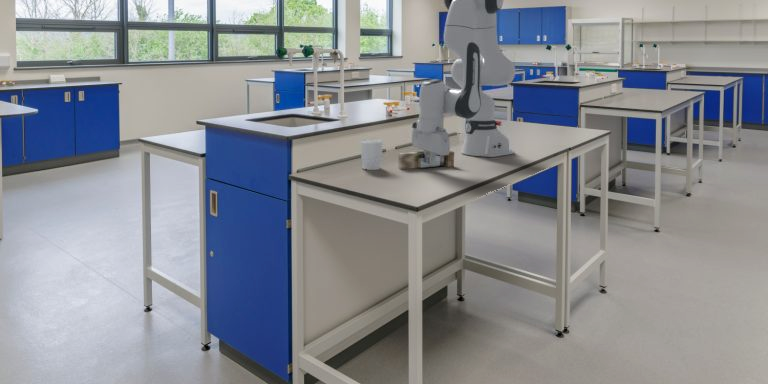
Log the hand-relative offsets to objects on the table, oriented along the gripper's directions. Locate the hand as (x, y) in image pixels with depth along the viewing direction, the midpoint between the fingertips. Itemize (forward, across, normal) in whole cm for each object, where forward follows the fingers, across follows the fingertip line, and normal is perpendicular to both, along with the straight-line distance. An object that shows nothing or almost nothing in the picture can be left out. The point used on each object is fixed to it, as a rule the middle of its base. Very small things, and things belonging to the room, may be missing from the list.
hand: (430, 163), depth 224 cm
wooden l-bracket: (+2, +4, -1) cm, 5 cm away
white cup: (+2, +11, +18) cm, 21 cm away
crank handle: (+2, +3, -3) cm, 5 cm away
